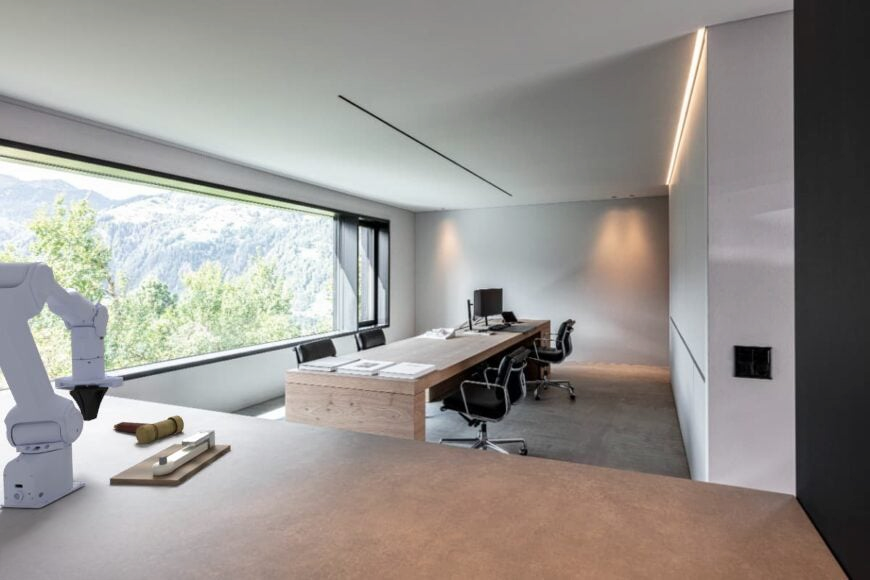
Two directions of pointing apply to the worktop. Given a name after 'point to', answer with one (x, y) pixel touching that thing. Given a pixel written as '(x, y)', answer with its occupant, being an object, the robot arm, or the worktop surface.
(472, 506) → the worktop surface
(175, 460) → the swing link
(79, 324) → the robot arm
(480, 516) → the worktop surface
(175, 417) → the gavel
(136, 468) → the pivot board
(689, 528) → the worktop surface
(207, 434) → the keeper
